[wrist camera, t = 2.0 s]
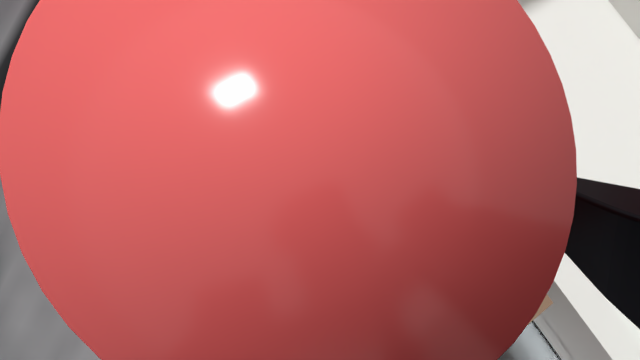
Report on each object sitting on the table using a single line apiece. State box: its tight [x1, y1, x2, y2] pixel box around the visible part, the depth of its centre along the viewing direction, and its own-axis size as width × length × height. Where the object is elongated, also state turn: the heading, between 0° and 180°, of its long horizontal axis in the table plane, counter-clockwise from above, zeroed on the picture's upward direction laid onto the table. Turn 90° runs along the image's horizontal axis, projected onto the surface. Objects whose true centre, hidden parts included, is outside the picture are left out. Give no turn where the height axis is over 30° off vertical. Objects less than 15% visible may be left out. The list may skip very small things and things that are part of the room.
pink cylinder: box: [0, 0, 577, 360], centre depth 12 cm, size 6×6×13 cm
